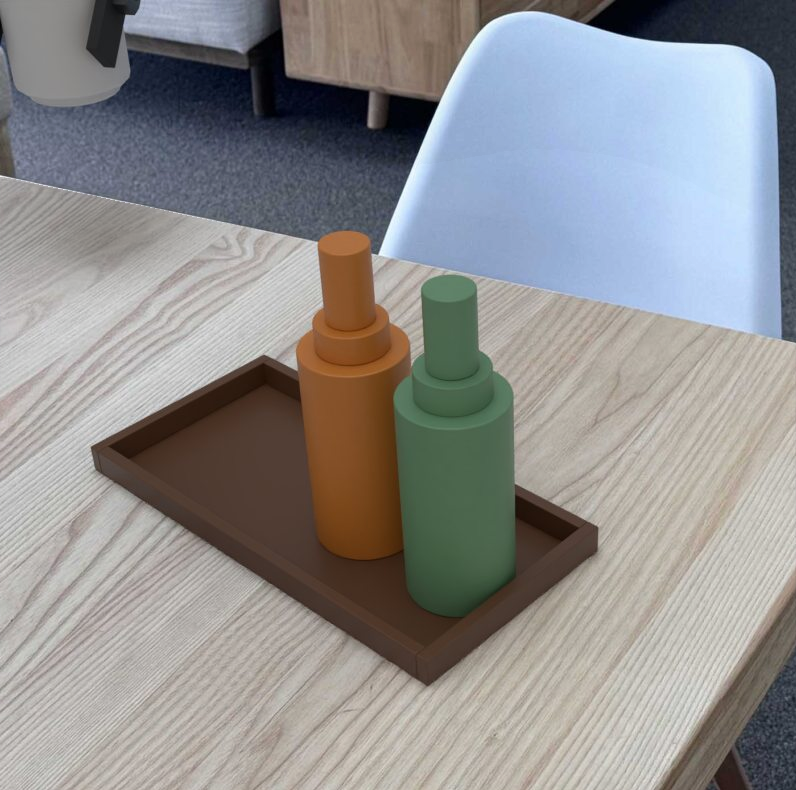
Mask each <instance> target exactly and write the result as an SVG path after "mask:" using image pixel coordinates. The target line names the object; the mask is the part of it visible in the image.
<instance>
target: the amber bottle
mask: <svg viewBox="0 0 796 790" xmlns="http://www.w3.org/2000/svg"><path fill="white" fill-rule="evenodd" d="M316 247H317V256H318V265H319V275H320V286H321V295H322V296H321V297H322V306H323V307H322V308H320V309H319V310H318V311H316V312H315V314H314V316H313V317H312V320H311V326H312V329H310V330H308V331H307V332H306V333H305V334H303V336H302V337H301V338H300V340H299V341H298V343H297V344H296V348H295V357H296V358H295V359H296V367H297V371H298V376H299V385H300V394H301V402H302V411H303V420H304V429H305V437H306V446H307V455H308V463H309V472H310V481H311V490H312V498H313V507H314V516H315V524H316V533H317V537H318V539H319V541H320V542H321V544H322V545H323V546H324V547H325V548H326V549H327V550H329V551H330V552H332V553H334V554H336V555H338V556H341V557H344V558H348V559H354V560H373V559H380V558H384V557H388V556H391V555H393V554H396V553H398V552H400V551H402V550H403V549H404V545H403V531H402V517H401V502H400V488H399V474H398V460H397V446H396V432H395V418H394V404H393V397H394V393H395V390H396V388H397V387H398V385H399V384H400V383H401V382H402V381H403V380H404V379H405V378H406V377H408V376H409V375H411V374H412V354H411V353H412V352H411V341H410V339H409V337H408V335H407V334H406V332H405V331H404V330H403V329H402V328H400V327H399V326H397V324H394V323H391V322H390V314H389V312H388V310H387V309H386V308H384V307H383V306H382V305H380V304H379V303H376V295H375V283H374V282H375V281H374V269H373V256H372V255H373V254H372V243H371V239H370V237H369V236H368V235H366V234H365V233H362V232H359V231H354V230H340V231H339V230H338V231H334V232H330V233H328V234H325V235H324V236H322V237H321V238H320V239H319V240H318V242H317V246H316Z"/></svg>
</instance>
